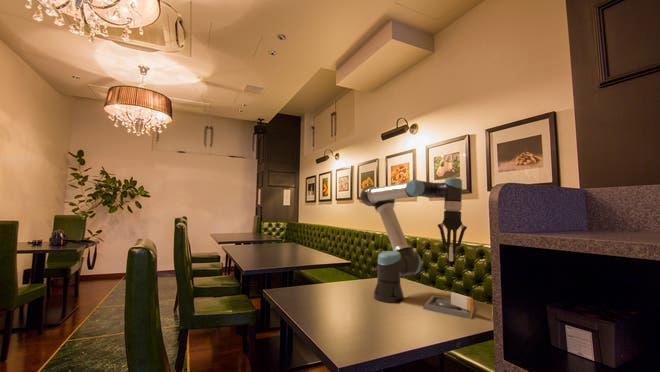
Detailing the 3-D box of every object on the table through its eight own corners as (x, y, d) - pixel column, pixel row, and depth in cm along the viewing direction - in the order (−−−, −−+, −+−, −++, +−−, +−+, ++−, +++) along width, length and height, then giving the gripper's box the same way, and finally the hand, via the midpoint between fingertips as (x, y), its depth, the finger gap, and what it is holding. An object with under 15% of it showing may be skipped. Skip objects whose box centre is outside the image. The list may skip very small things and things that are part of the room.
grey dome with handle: (430, 305, 133) (430, 289, 134) (446, 302, 139) (446, 287, 139) (463, 318, 119) (462, 299, 119) (479, 314, 124) (479, 297, 124)
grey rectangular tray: (421, 311, 128) (421, 304, 129) (430, 301, 144) (430, 294, 144) (471, 321, 118) (471, 313, 119) (474, 309, 134) (474, 302, 134)
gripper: (436, 209, 136) (434, 259, 134) (466, 211, 129) (465, 264, 127) (439, 209, 142) (438, 257, 141) (468, 211, 135) (467, 261, 134)
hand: (451, 260), depth 134 cm, fingers closed
